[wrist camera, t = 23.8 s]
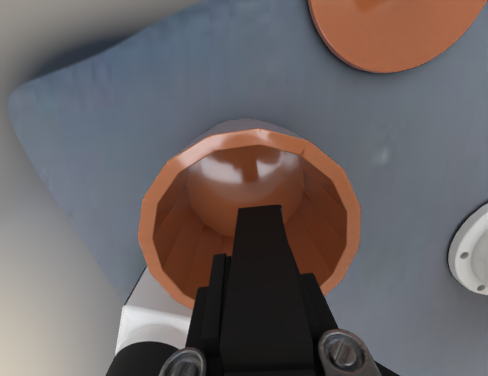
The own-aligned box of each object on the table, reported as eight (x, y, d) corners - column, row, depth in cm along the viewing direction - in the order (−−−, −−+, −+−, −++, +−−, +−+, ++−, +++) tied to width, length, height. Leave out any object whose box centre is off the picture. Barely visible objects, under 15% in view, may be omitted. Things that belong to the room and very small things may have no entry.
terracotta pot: (307, 108, 20) (365, 112, 11) (312, 233, 24) (357, 310, 15) (165, 129, 20) (106, 150, 11) (195, 249, 24) (170, 334, 15)
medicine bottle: (153, 251, 24) (79, 380, 13) (219, 266, 25) (204, 399, 14) (143, 302, 26) (73, 449, 15) (204, 314, 27) (180, 461, 16)
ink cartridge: (285, 273, 14) (321, 467, 7) (248, 276, 14) (244, 467, 7) (280, 200, 12) (322, 353, 5) (238, 204, 13) (217, 357, 5)
